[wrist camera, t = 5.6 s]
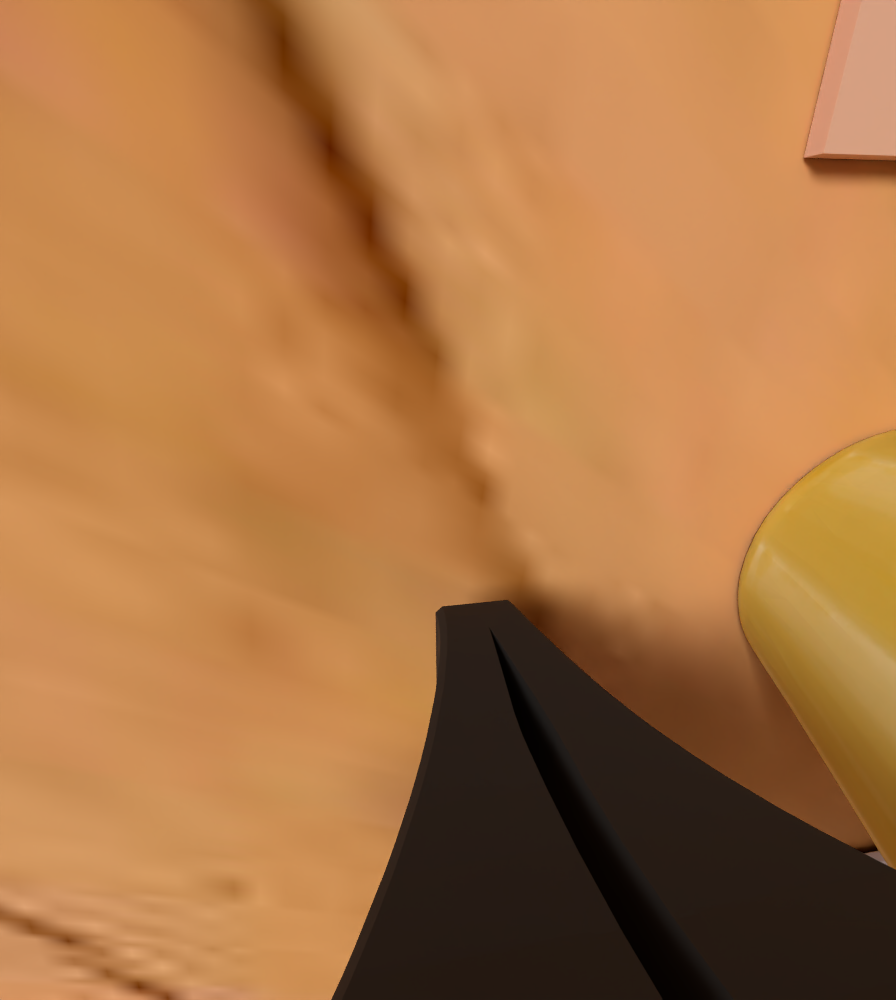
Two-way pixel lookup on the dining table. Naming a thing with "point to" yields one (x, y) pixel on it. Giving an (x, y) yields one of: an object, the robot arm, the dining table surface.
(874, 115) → the terracotta mat
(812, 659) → the plant pot
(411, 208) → the dining table surface
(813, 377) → the dining table surface
